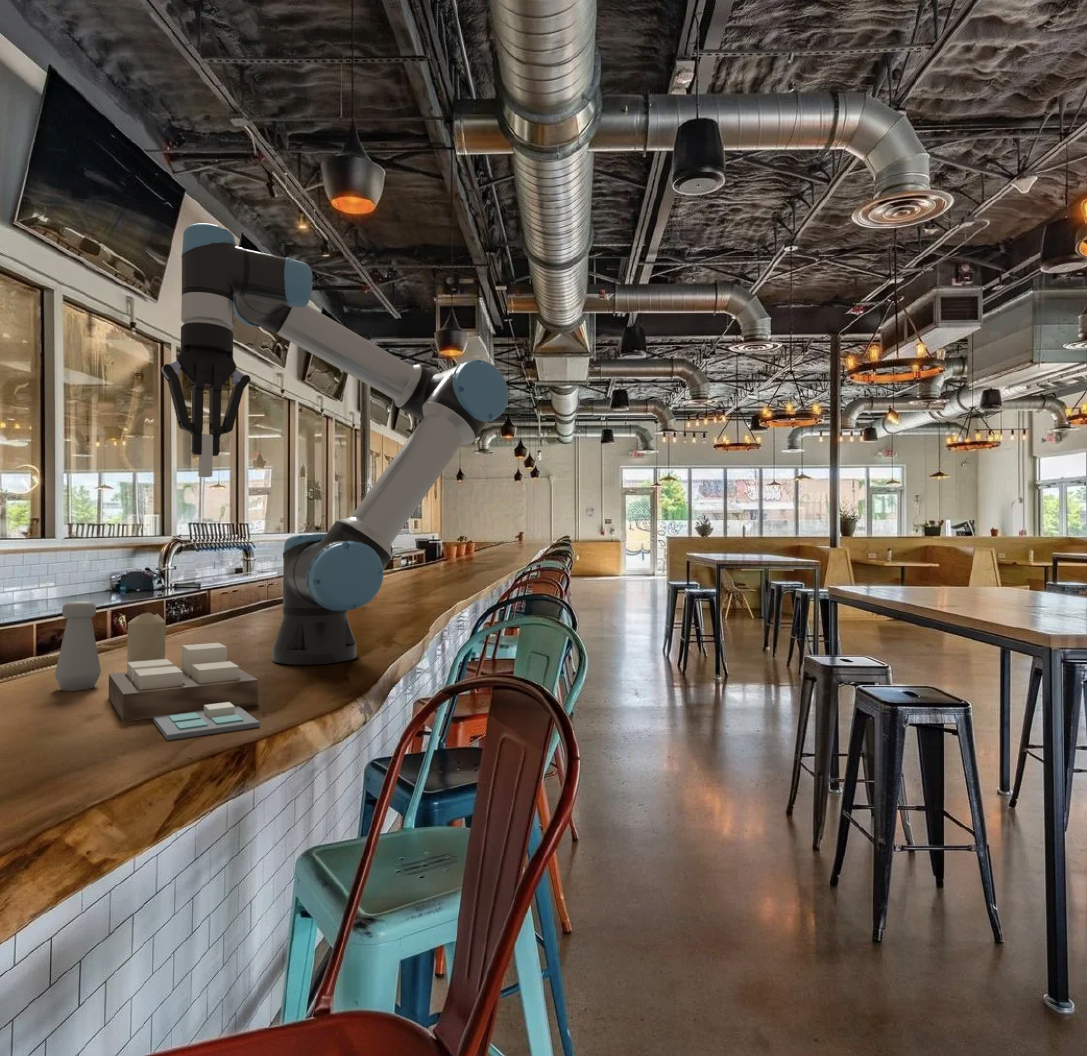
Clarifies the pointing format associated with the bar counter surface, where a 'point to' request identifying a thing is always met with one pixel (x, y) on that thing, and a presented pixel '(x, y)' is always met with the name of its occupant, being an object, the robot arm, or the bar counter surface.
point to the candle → (146, 638)
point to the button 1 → (145, 666)
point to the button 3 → (215, 672)
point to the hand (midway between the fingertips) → (205, 476)
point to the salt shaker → (78, 648)
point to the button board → (178, 696)
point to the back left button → (202, 655)
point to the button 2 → (157, 677)
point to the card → (205, 721)
